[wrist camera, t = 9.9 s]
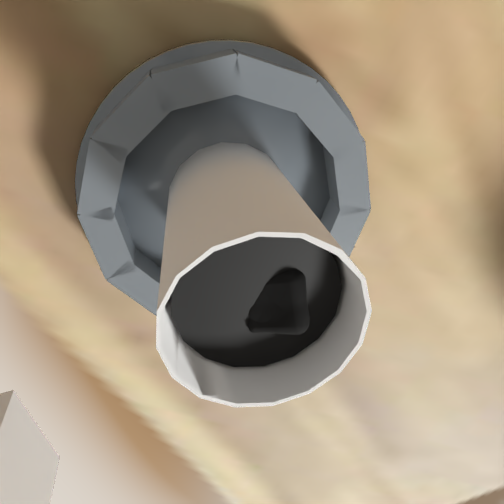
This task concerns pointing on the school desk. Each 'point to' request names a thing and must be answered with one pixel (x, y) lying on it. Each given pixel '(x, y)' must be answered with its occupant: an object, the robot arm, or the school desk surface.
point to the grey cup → (252, 284)
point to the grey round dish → (206, 134)
